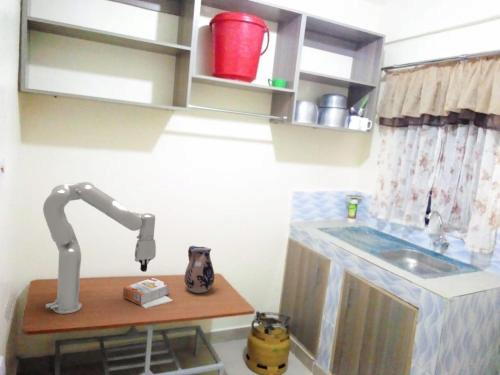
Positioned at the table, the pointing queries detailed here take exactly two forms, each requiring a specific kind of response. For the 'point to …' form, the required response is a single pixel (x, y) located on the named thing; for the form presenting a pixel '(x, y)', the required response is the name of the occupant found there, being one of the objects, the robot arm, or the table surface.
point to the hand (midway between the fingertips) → (143, 270)
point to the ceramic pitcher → (199, 270)
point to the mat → (157, 302)
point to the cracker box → (146, 291)
